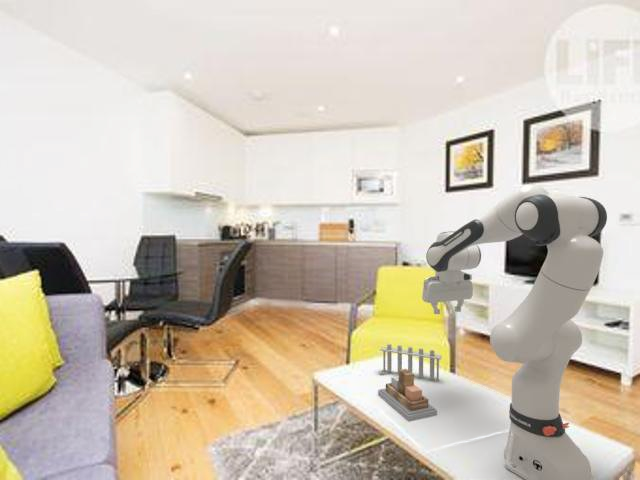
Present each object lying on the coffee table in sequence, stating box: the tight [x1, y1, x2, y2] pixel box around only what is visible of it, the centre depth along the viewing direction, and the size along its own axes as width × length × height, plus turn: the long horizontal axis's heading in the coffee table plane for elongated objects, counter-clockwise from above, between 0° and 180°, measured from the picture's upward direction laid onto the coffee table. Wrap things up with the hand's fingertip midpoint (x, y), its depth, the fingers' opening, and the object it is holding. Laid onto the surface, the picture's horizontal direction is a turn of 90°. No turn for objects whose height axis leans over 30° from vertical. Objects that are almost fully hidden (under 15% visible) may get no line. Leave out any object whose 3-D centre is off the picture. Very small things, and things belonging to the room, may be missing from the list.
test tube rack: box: [379, 343, 443, 382], centre depth 156 cm, size 25×4×13 cm, turn 63°
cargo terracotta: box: [405, 384, 423, 402], centre depth 128 cm, size 4×4×4 cm
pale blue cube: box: [390, 375, 399, 392], centre depth 136 cm, size 4×4×4 cm
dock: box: [377, 387, 438, 422], centre depth 132 cm, size 20×11×3 cm, turn 20°
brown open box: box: [385, 368, 429, 411], centre depth 132 cm, size 16×7×10 cm, turn 20°
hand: (447, 312), depth 139 cm, fingers open, 8 cm apart
